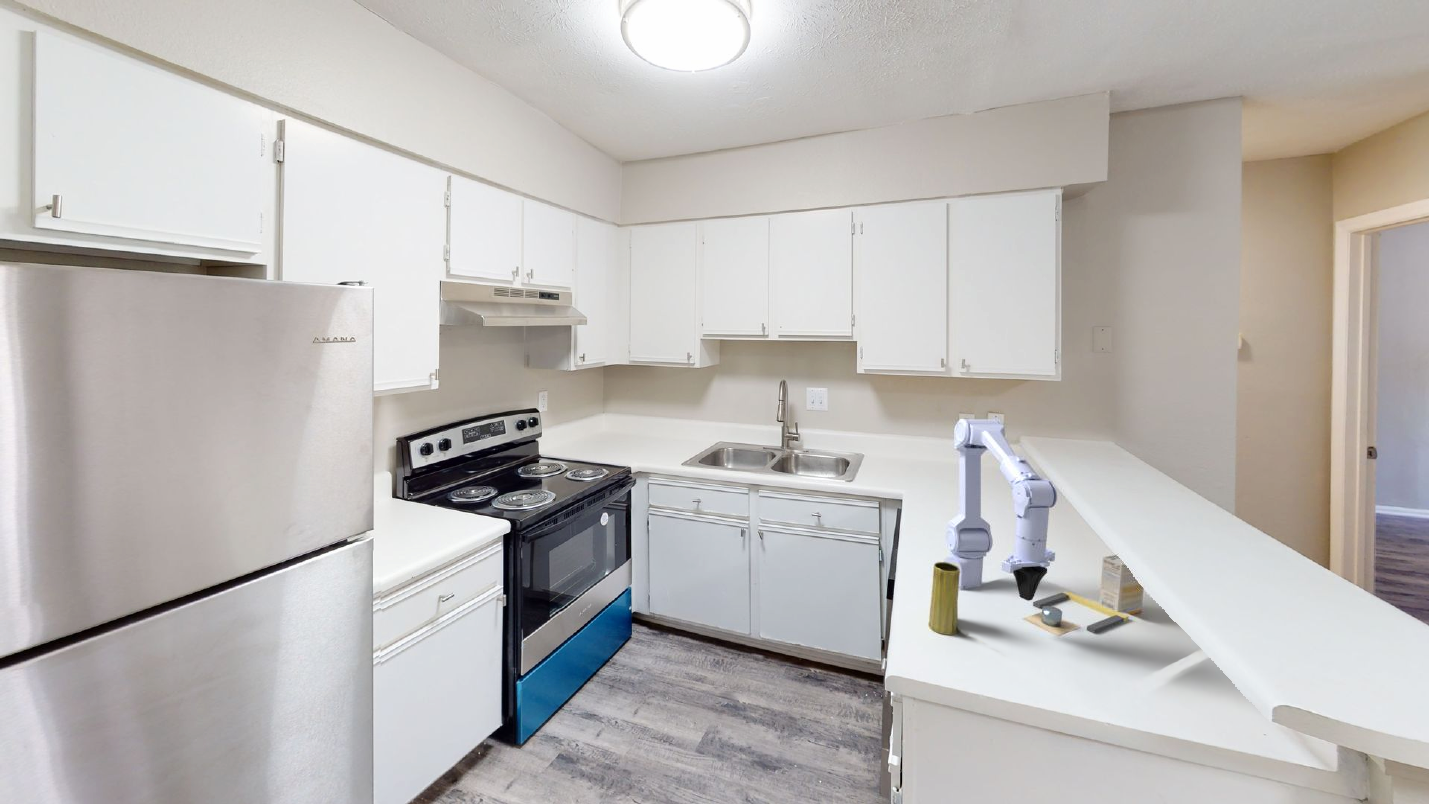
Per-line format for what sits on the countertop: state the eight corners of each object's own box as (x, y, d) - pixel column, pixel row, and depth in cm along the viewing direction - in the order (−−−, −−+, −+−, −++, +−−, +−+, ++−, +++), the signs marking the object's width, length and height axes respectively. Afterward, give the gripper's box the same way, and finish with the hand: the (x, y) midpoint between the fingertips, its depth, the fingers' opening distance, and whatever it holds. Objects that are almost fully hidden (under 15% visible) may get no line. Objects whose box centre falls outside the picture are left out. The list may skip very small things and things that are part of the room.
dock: (1093, 640, 120) (1094, 629, 120) (1032, 611, 133) (1033, 601, 132) (1127, 626, 126) (1128, 616, 126) (1065, 600, 138) (1066, 590, 138)
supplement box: (1121, 603, 137) (1126, 552, 135) (1142, 613, 132) (1147, 559, 131) (1096, 608, 134) (1101, 556, 133) (1117, 618, 130) (1122, 564, 128)
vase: (952, 638, 121) (956, 575, 119) (923, 628, 125) (927, 566, 123) (961, 627, 125) (965, 566, 123) (934, 618, 129) (937, 558, 127)
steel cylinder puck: (1054, 628, 122) (1055, 615, 122) (1037, 620, 125) (1038, 608, 125) (1064, 624, 124) (1066, 612, 123) (1048, 617, 127) (1049, 604, 127)
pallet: (1057, 644, 119) (1057, 635, 119) (1021, 627, 126) (1022, 618, 126) (1079, 635, 123) (1080, 627, 123) (1044, 619, 130) (1044, 610, 130)
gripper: (1026, 548, 111) (1021, 614, 112) (1071, 537, 117) (1065, 599, 119) (994, 537, 117) (990, 599, 119) (1038, 526, 123) (1034, 585, 125)
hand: (1026, 598), depth 119 cm, fingers closed
